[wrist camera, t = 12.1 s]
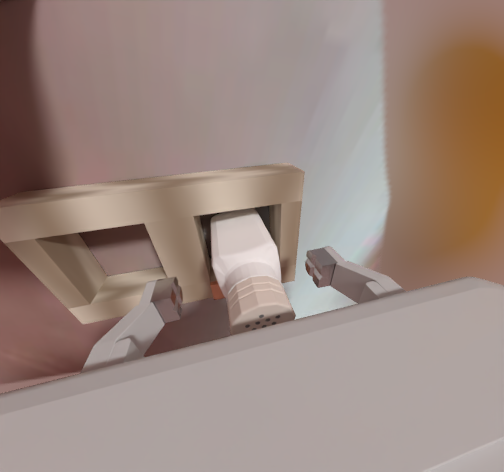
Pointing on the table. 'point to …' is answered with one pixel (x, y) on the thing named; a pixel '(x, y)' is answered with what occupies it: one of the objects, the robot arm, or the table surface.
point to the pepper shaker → (248, 271)
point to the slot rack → (157, 224)
